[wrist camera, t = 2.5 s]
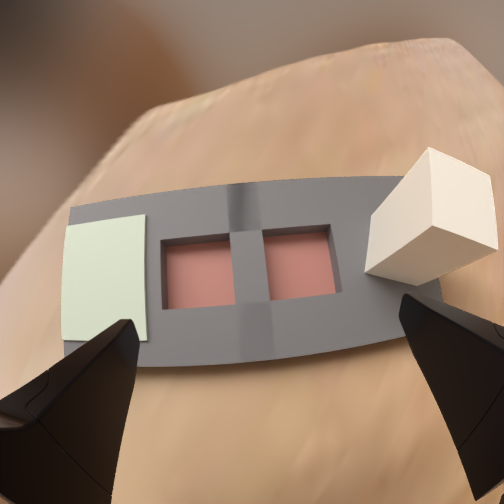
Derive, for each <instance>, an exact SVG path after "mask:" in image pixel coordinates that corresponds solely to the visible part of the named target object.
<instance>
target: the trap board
mask: <svg viewBox="0 0 504 504" xmlns="http://www.w3.org/2000/svg"><path fill="white" fill-rule="evenodd" d="M403 178H404V176H360V177H327V178H306V179H289V180H274V181H261V182H249V183H238V184H227V185H218V186H208V187H199V188H191V189H183V190H175V191H167V192H160V193H153V194H146V195H139V196H133V197H127V198H120V199H114V200H109V201H103V202H97V203H92V204H86V205H81V206H76V207H71V209H70V216H69V224H68V226H66V234H65V243H64V254H63V268H62V288H61V334H62V340H64V355H65V357H66V356H67V355H69V354H70V353H72V352H73V351H75V350H76V349H78V348H79V347H80V346H82V345H83V344H85V343H86V342H88V341H89V340H90V339H92V338H93V337H95V336H96V335H98V334H99V333H101V332H102V331H104V330H105V329H106V328H108V327H109V326H111V325H112V324H114V323H115V322H117V321H118V320H120V319H132V320H133V322H134V324H135V327H136V330H137V333H138V336H139V340H140V348H139V355H138V362H137V367H172V366H200V365H217V364H231V363H243V362H254V361H264V360H273V359H281V358H289V357H297V356H304V355H311V354H317V353H324V352H330V351H336V350H341V349H347V348H352V347H357V346H363V345H368V344H372V343H377V342H382V341H386V340H391V339H395V338H399V337H403V336H406V335H405V333H404V330H403V328H402V325H401V323H400V320H399V310H400V305H401V300H402V296H403V294H404V293H408V292H417V293H419V294H422V295H424V296H427V297H430V298H432V299H435V300H437V301H440V302H443V299H442V293H441V288H440V282H439V277H438V278H436V279H433V280H431V281H429V282H426V283H424V284H421V285H419V286H415V285H411V284H407V283H403V282H399V281H395V280H391V279H387V278H383V277H379V276H375V275H371V274H367V273H364V271H365V264H366V257H367V249H368V241H369V232H370V223H371V215H372V214H373V213H374V212H375V211H376V210H377V208H378V207H379V206H380V205H381V204H382V203H383V201H384V200H385V199H386V198H387V197H388V196H389V194H390V193H391V192H392V191H393V190H394V188H395V187H396V186H397V185H398V184H399V182H400V181H401V180H402V179H403Z"/></svg>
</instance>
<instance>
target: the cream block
mask: <svg viewBox="0 0 504 504" xmlns="http://www.w3.org/2000/svg"><path fill="white" fill-rule="evenodd" d="M497 250H498V239H497V226H496V216H495V207H494V199H493V192H492V186H491V180H490V176H489V175H487V174H485V173H484V172H482V171H480V170H478V169H476V168H474V167H472V166H470V165H468V164H466V163H464V162H461V161H459V160H457V159H455V158H453V157H451V156H448V155H446V154H444V153H442V152H439V151H437V150H435V149H432V148H430V147H428V148H427V149H426V150H425V152H424V153H423V154H422V155H421V157H420V158H419V159H418V160H417V162H416V163H415V164H414V165H413V167H412V168H411V169H410V170H409V172H408V173H407V174H406V175H405V176H404V178H403V179H402V180H401V181H400V182H399V184H398V185H397V186H396V187H395V188H394V190H393V191H392V192H391V193H390V194H389V196H388V197H387V198H386V199H385V200H384V201H383V203H382V204H381V205H380V206H379V207H378V208H377V210H376V211H375V212H374V213H373V214H372V215H371V223H370V232H369V241H368V249H367V257H366V264H365V271H364V273H367V274H371V275H375V276H379V277H383V278H387V279H391V280H395V281H399V282H403V283H407V284H411V285H415V286H419V285H421V284H424V283H426V282H429V281H431V280H433V279H436V278H438V277H441V276H443V275H445V274H448V273H450V272H452V271H454V270H457V269H459V268H461V267H463V266H466V265H468V264H470V263H472V262H474V261H477V260H479V259H481V258H483V257H485V256H487V255H489V254H491V253H493V252H495V251H497Z"/></svg>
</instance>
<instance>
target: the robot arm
mask: <svg viewBox="0 0 504 504" xmlns="http://www.w3.org/2000/svg"><path fill="white" fill-rule="evenodd" d="M399 320H400V323H401V325H402V328H403V330H404V333H405V335H406V338H407V340H408V343H409V345H410V348H411V350H412V353H413V355H414V357H415V359H416V361H417V363H418V365H419V367H420V369H421V371H422V373H423V375H424V377H425V379H426V381H427V383H428V385H429V387H430V389H431V391H432V393H433V396H434V398H435V400H436V402H437V404H438V406H439V409H440V411H441V413H442V415H443V418H444V420H445V422H446V425H447V427H448V429H449V432H450V434H451V436H452V439H453V441H454V444H455V446H456V449H457V451H458V454H459V457H460V459H461V462H462V465H463V467H464V470H465V473H466V476H467V479H468V481H469V484H470V487H471V490H472V493H473V496H474V499H475V501H477V500H479V499H480V498H482V497H483V496H485V495H486V494H488V493H489V492H491V491H492V490H494V489H495V488H497V487H498V486H500V485H501V484H502V483H504V327H503V326H500V325H498V324H496V323H492V322H490V321H488V320H485V319H483V318H480V317H478V316H475V315H473V314H470V313H468V312H465V311H463V310H460V309H458V308H455V307H453V306H450V305H448V304H445V303H443V302H440V301H437V300H435V299H432V298H430V297H427V296H424V295H422V294H419V293H417V292H408V293H404V294H403V296H402V300H401V305H400V310H399ZM139 348H140V340H139V336H138V333H137V330H136V327H135V324H134V322H133V320H132V319H120V320H118V321H117V322H115V323H114V324H112V325H111V326H109V327H108V328H106V329H105V330H104V331H102V332H101V333H99V334H98V335H96V336H95V337H93V338H92V339H90V340H89V341H88V342H86V343H85V344H83V345H82V346H80V347H79V348H78V349H76V350H75V351H73V352H72V353H70V354H69V355H67V356H66V357H65V358H63V359H62V360H60V361H59V362H58V363H56V364H55V365H53V366H52V367H50V368H49V370H46V371H45V372H43V373H42V374H40V375H39V376H38V377H36V378H35V379H33V380H32V381H30V382H29V383H27V384H26V385H24V386H22V387H21V388H19V389H18V390H16V391H14V392H13V393H11V394H9V395H8V396H6V397H4V398H3V399H1V400H0V504H111V499H112V496H111V495H112V491H113V485H114V479H115V473H116V467H117V462H118V457H119V451H120V446H121V441H122V436H123V432H124V427H125V422H126V418H127V414H128V409H129V405H130V401H131V396H132V392H133V388H134V384H135V377H136V370H137V362H138V355H139ZM499 504H504V494H503V495H502V496H501V500H500V503H499Z"/></svg>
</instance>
